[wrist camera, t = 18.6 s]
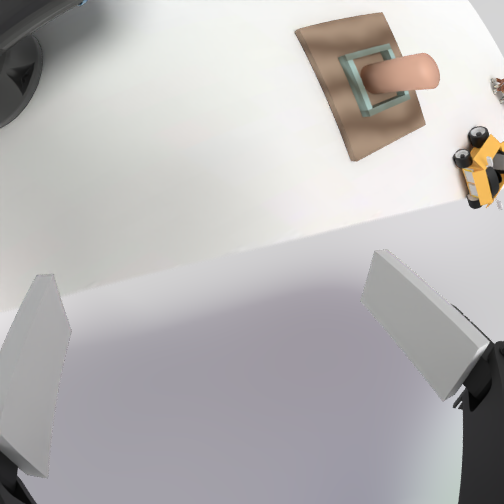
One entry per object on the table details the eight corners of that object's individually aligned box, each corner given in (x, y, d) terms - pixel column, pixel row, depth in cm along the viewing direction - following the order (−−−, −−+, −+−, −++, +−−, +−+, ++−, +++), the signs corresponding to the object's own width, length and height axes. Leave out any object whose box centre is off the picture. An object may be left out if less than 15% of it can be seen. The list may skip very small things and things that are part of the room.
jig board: (294, 31, 36) (305, 24, 32) (377, 14, 37) (389, 9, 34) (351, 160, 45) (364, 162, 42) (420, 124, 47) (433, 125, 44)
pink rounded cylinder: (355, 68, 39) (410, 55, 28) (377, 61, 39) (431, 51, 28) (367, 97, 41) (424, 92, 30) (388, 89, 41) (443, 85, 30)
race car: (448, 157, 52) (488, 165, 42) (475, 122, 52) (511, 126, 42) (465, 209, 58) (500, 222, 49) (490, 173, 58) (523, 181, 49)
